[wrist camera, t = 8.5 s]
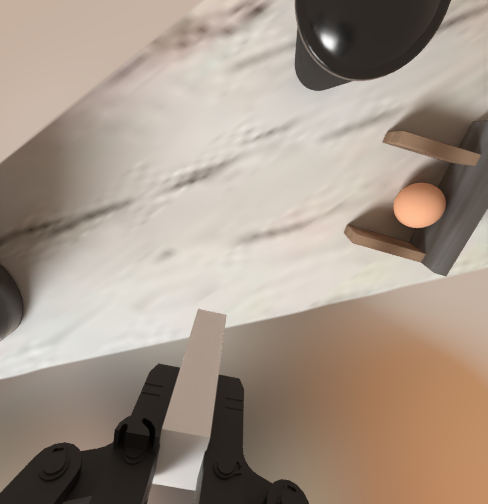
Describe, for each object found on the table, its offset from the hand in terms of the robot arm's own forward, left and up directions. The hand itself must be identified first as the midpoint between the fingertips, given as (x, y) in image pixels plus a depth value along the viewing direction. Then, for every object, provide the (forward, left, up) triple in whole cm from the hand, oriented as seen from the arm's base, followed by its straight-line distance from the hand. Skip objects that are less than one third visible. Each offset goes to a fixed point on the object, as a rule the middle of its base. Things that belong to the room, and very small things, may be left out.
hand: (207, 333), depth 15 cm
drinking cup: (+3, +18, -20) cm, 27 cm away
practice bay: (+16, +10, -19) cm, 27 cm away
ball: (+17, +8, -17) cm, 25 cm away
